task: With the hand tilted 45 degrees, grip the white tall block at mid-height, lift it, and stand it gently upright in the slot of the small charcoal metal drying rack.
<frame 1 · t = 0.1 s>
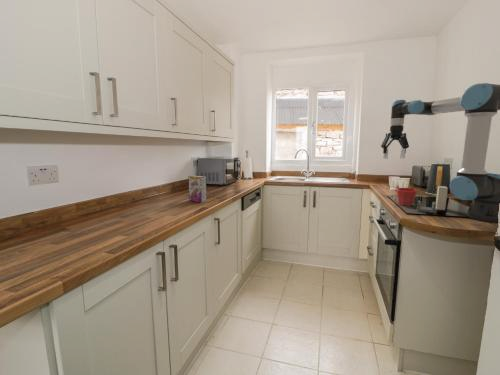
hand: (394, 158, 176), 28 cm above the table, tool pointing down, fingers open, 13 cm apart
flower pot: (405, 204, 168), on the table
candy bar box: (197, 201, 174), on the table
white tall block: (440, 208, 157), on the table
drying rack: (425, 210, 152), on the table
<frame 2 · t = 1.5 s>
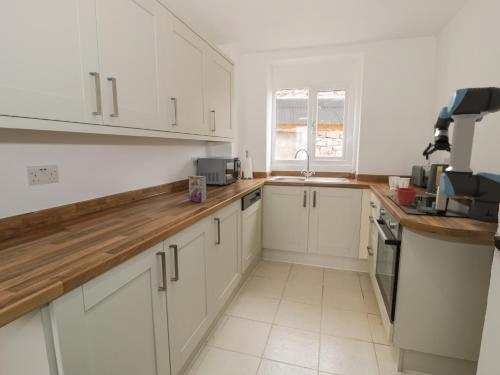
hand: (442, 163, 162), 26 cm above the table, tool tilted 45°, fingers open, 13 cm apart
nothing on the table moved.
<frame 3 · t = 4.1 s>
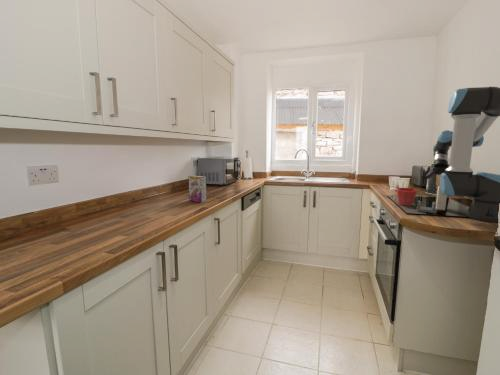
hand: (440, 189, 160), 11 cm above the table, tool tilted 45°, fingers open, 13 cm apart
nothing on the table moved.
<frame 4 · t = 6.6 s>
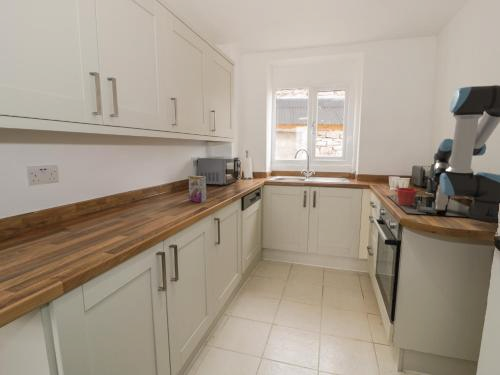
hand: (441, 202, 153), 4 cm above the table, tool tilted 45°, fingers closed on white tall block, 4 cm apart
white tall block: (440, 208, 157), on the table, touching gripper
everything else where it was.
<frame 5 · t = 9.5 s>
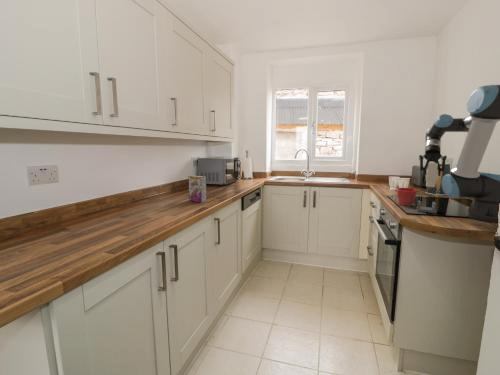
hand: (431, 179, 147), 18 cm above the table, tool tilted 45°, fingers closed on white tall block, 4 cm apart
white tall block: (430, 186, 151), point 14 cm above the table, touching gripper
everything else where it was.
when the fingers open (8 cm above the table, at t = 12.6 s): white tall block drops 2 cm, resting on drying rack.
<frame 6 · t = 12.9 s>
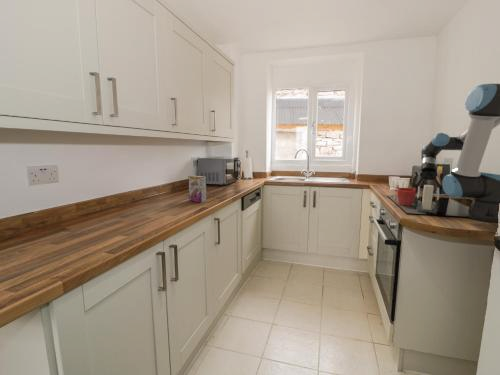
hand: (428, 197, 148), 8 cm above the table, tool tilted 45°, fingers open, 8 cm apart
white tall block: (426, 208, 152), point 1 cm above the table, touching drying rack
everything else where it was.
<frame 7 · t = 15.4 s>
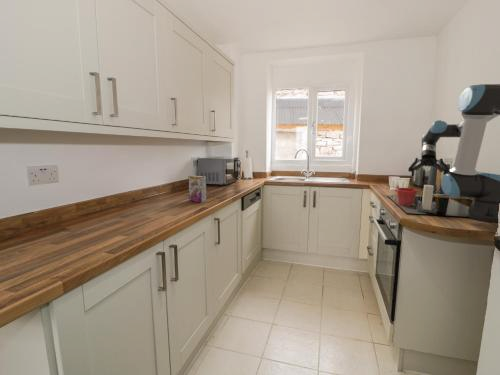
hand: (428, 180, 154), 17 cm above the table, tool tilted 45°, fingers open, 13 cm apart
nothing on the table moved.
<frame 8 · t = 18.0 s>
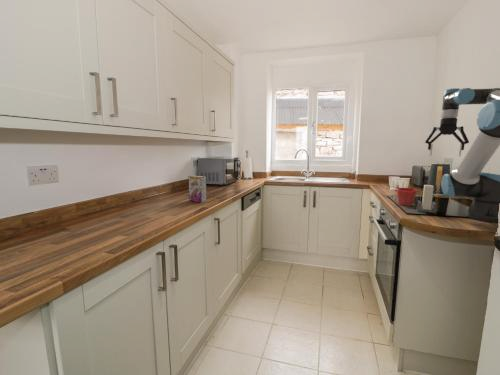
hand: (444, 155, 155), 31 cm above the table, tool pointing down, fingers open, 13 cm apart
nothing on the table moved.
at the end: white tall block 0.0 cm off-centre on the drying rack, point 1.5 cm above the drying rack's base; white tall block tilted 0°; the gripper is holding nothing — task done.
